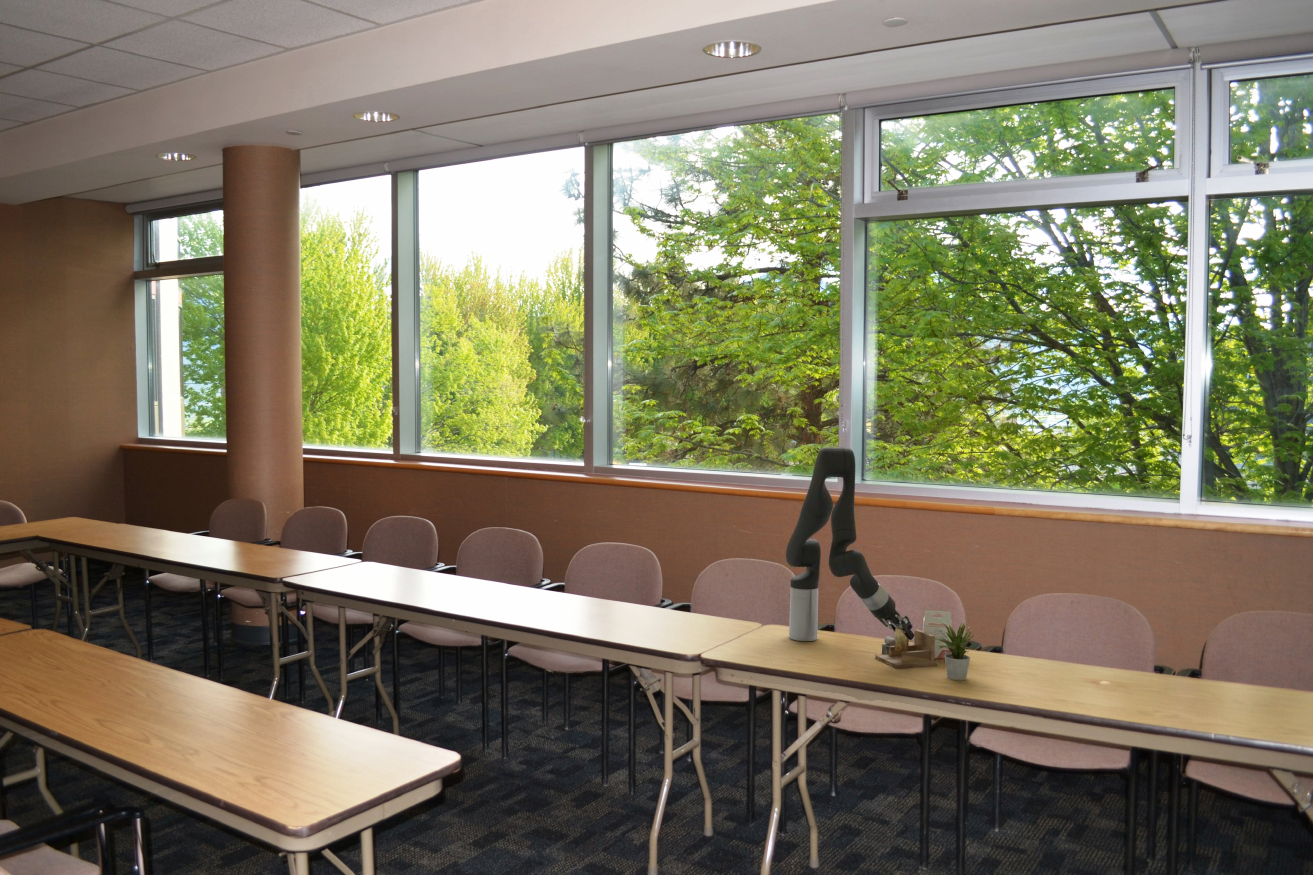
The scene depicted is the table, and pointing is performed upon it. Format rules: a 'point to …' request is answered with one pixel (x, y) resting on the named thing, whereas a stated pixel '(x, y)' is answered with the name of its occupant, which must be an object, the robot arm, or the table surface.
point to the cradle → (910, 652)
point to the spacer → (901, 641)
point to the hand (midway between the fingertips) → (906, 635)
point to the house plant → (956, 652)
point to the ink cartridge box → (935, 623)
